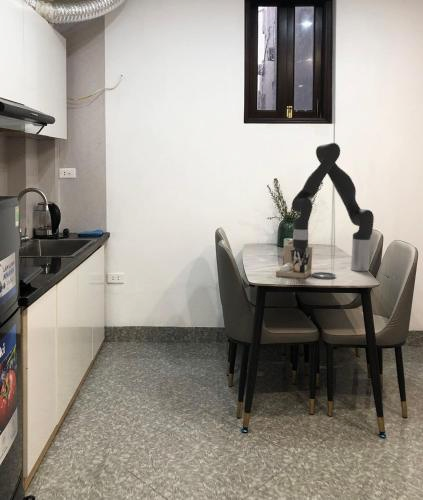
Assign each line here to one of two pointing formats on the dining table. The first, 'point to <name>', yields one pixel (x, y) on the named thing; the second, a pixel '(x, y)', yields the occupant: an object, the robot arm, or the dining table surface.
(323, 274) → the slate saucer
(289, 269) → the white egg
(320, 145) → the robot arm
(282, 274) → the egg carton
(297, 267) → the brown egg
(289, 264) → the white egg
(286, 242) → the candy bar box
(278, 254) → the dining table surface
